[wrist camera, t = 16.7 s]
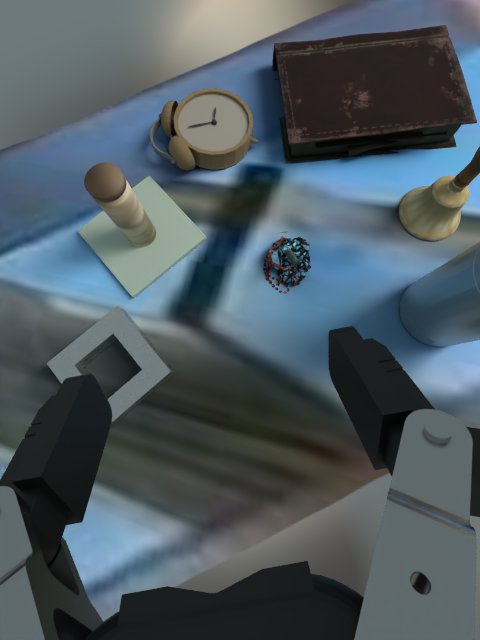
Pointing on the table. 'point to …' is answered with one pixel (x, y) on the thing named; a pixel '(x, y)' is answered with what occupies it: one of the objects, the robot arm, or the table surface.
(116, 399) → the block
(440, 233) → the hand bell
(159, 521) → the table surface
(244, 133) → the alarm clock
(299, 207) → the table surface
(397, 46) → the diary
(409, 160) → the table surface
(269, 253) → the beaded bracelet pile
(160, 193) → the tile
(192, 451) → the table surface
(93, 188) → the peg
